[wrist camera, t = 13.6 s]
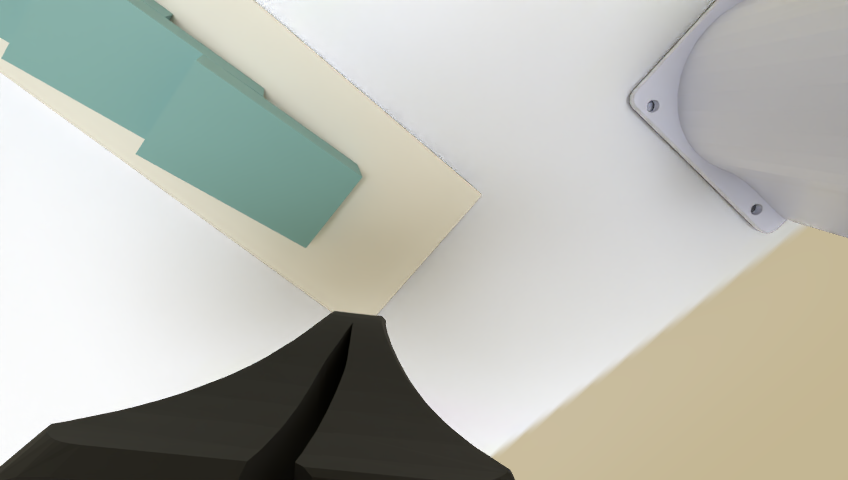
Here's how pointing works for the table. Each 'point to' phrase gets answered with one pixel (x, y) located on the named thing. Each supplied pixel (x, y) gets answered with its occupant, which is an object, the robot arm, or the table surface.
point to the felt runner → (331, 121)
